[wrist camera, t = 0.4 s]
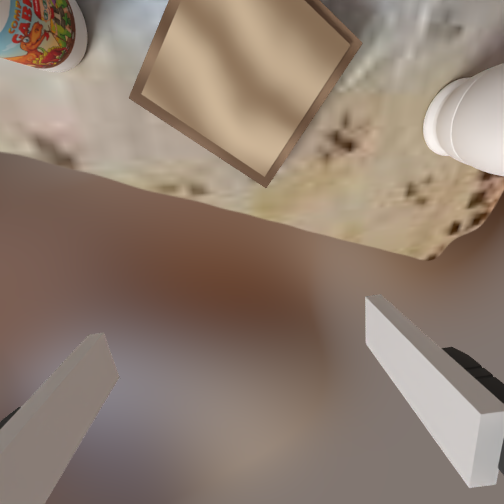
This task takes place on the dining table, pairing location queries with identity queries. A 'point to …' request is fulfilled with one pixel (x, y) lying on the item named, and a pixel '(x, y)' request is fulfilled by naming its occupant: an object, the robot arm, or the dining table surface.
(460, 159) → the jar
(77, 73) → the dining table surface
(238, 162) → the walnut stand
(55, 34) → the milk bottle
